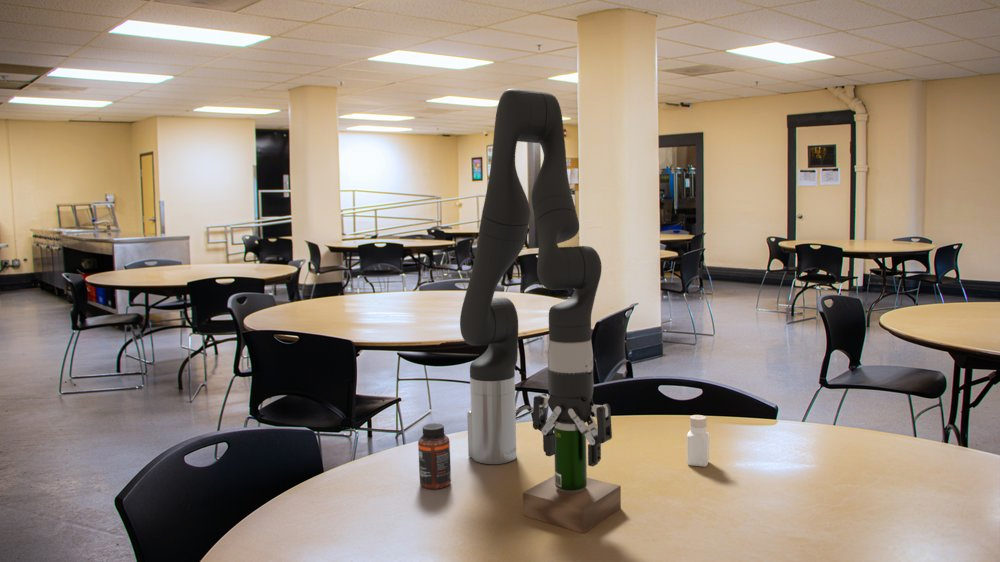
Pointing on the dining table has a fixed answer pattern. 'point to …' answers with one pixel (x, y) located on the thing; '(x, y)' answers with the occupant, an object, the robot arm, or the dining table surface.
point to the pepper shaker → (698, 442)
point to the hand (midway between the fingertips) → (571, 459)
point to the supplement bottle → (434, 457)
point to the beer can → (569, 458)
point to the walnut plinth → (572, 504)
